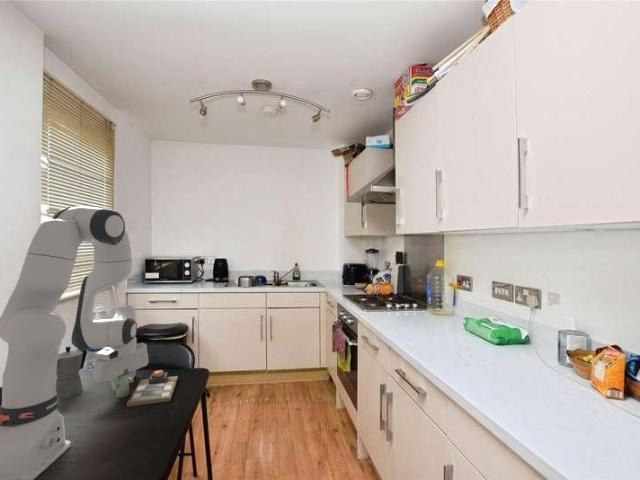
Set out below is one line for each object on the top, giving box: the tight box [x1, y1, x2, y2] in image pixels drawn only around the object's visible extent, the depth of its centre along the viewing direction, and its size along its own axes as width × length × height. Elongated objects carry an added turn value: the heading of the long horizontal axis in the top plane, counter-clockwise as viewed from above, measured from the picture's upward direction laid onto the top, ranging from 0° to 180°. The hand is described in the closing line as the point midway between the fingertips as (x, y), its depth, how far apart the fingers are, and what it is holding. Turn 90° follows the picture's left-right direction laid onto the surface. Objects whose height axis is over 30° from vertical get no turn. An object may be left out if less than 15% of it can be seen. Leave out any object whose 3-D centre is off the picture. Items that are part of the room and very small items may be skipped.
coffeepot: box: [56, 346, 88, 400], centre depth 129 cm, size 15×9×18 cm, turn 174°
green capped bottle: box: [115, 369, 130, 399], centre depth 125 cm, size 4×4×10 cm
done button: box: [152, 369, 164, 378], centre depth 136 cm, size 4×4×2 cm
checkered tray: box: [126, 372, 179, 407], centre depth 129 cm, size 22×14×3 cm, turn 17°
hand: (122, 385), depth 125 cm, fingers open, 5 cm apart
